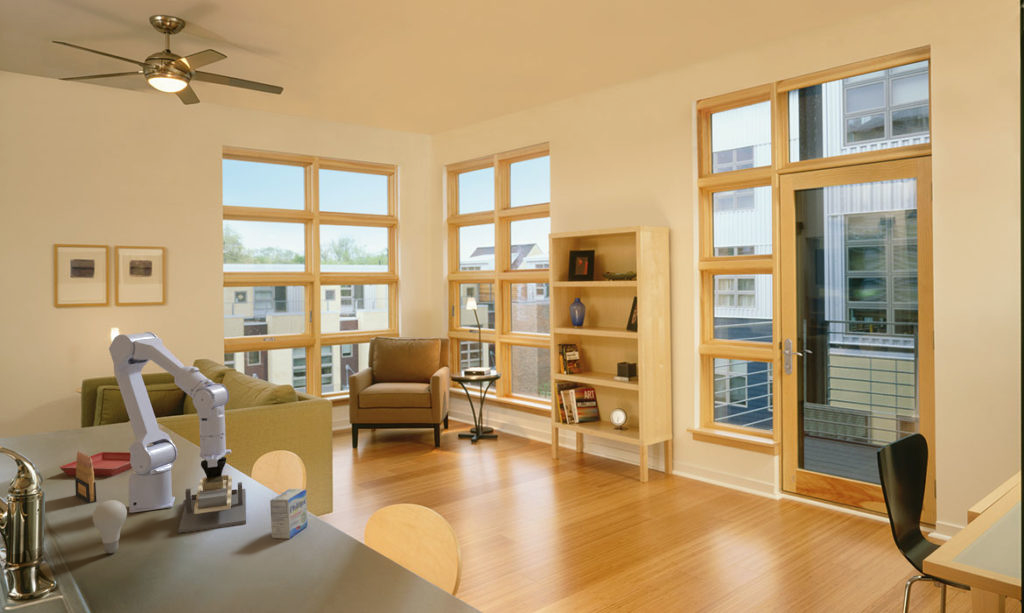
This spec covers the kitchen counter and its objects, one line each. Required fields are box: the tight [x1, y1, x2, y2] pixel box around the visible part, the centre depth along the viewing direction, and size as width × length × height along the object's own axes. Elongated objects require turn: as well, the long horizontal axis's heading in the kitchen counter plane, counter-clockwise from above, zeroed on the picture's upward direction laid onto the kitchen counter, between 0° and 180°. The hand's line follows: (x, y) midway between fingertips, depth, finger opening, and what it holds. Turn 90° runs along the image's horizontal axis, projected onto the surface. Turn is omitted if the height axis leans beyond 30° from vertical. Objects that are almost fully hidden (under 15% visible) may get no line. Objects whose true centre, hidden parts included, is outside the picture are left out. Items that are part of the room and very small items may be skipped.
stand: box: [178, 481, 247, 534], centre depth 160 cm, size 26×14×6 cm, turn 23°
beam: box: [191, 474, 238, 514], centre depth 160 cm, size 23×10×3 cm, turn 23°
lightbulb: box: [92, 499, 128, 555], centre depth 135 cm, size 6×6×11 cm
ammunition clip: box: [74, 450, 97, 504], centre depth 171 cm, size 11×2×12 cm, turn 49°
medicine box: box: [269, 488, 308, 540], centre depth 145 cm, size 8×4×9 cm, turn 168°
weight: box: [202, 475, 224, 491], centre depth 157 cm, size 4×4×4 cm
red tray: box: [59, 451, 133, 477], centre depth 200 cm, size 18×18×3 cm
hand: (214, 488), depth 160 cm, fingers closed
